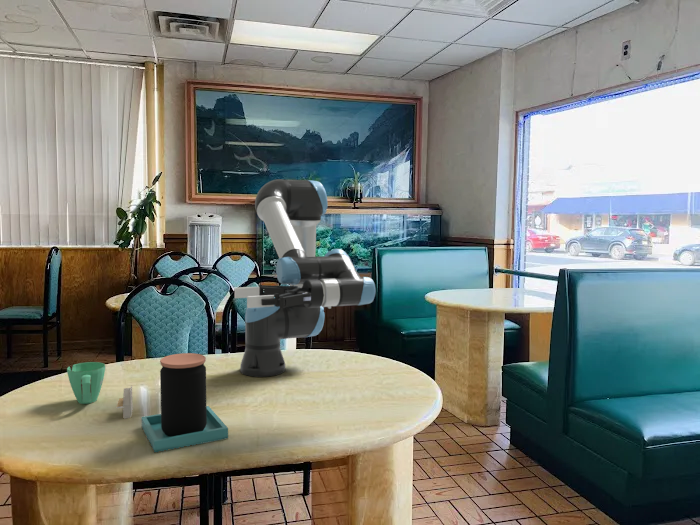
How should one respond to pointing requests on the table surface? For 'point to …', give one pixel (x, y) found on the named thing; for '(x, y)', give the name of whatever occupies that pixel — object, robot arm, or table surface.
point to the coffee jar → (183, 394)
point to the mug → (86, 380)
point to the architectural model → (126, 403)
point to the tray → (163, 442)
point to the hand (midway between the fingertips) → (240, 297)
